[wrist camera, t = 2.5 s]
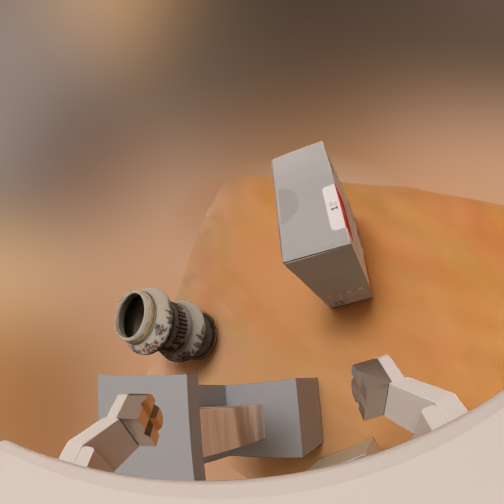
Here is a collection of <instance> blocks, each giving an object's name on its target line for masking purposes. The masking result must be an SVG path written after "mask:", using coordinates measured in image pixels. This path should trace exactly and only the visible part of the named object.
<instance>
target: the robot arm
mask: <svg viewBox="0 0 504 504" xmlns="http://www.w3.org/2000/svg"><path fill="white" fill-rule="evenodd" d="M352 374H353V376H354V378H353V379H352V393H353V396H354V399H355V401H356V402H357V403H359V411H360V413H361V415H362V417H363V420H368V419H371V418H375V417H378V416H381V415H384V416H385V417H387V418H388V419H390V420H392V421H393V422H395V423H397V424H398V425H400V426H401V427H403V428H405V429H406V430H408V431H410V432H411V433H413V434H414V435H413V438H412V439H411V440H409V441H407V442H404V443H402V444H399V445H396V446H394V447H391V448H388V449H386V450H383V451H380V452H377V453H374V454H371V455H368V456H364V457H361V458H358V459H354V460H351V461H347V462H343V463H340V464H336V465H332V466H327V467H323V468H318V469H314V470H309V471H304V472H298V473H292V474H286V475H279V476H271V477H263V478H252V479H240V480H215V481H196V480H171V479H158V478H148V477H140V476H132V475H125V474H119V473H116V472H115V470H116V469H117V468H118V467H119V466H120V465H121V464H122V463H123V462H124V461H125V460H126V459H127V458H128V457H129V456H130V455H131V454H132V453H133V452H134V451H135V450H136V449H137V448H138V447H139V446H157V442H158V439H159V433H158V432H157V431H158V430H159V429H161V428H162V425H163V415H162V411H161V410H160V408H159V407H158V406H156V405H155V404H154V403H155V399H154V397H153V395H151V394H131V393H130V394H125V393H120V394H119V395H118V396H117V398H116V399H115V401H114V403H113V405H112V407H111V409H110V411H109V413H108V415H107V417H106V418H102V419H101V420H99V421H98V422H96V423H95V424H93V425H92V426H91V427H89V428H88V429H86V430H85V431H83V432H82V433H80V434H79V435H77V436H76V437H74V438H72V439H71V440H69V441H68V442H67V444H66V446H65V448H64V450H63V452H62V453H61V455H60V457H59V459H56V458H53V457H50V456H46V455H43V454H41V453H38V452H35V451H32V450H30V449H27V448H24V447H22V446H19V445H17V444H15V443H13V442H10V441H7V440H4V441H1V442H0V504H504V389H503V390H502V391H500V392H499V393H497V394H496V395H494V396H493V397H491V398H490V399H488V400H487V401H485V402H483V403H482V404H480V405H479V406H477V407H475V408H474V409H472V410H470V411H468V410H467V409H466V408H465V406H464V405H463V404H462V402H461V401H460V400H459V399H458V397H457V396H456V395H455V394H454V393H452V392H449V391H446V390H443V389H440V388H438V387H435V386H432V385H429V384H427V383H424V382H421V381H418V380H416V379H413V378H410V377H406V378H405V377H404V376H403V374H402V373H401V371H400V370H399V369H398V367H397V366H396V364H395V363H394V362H393V360H392V359H391V357H390V356H389V355H384V356H381V357H378V358H376V359H372V360H368V361H365V362H362V363H358V364H354V365H352Z"/></svg>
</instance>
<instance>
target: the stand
mask: <svg viewBox="0 0 504 504" xmlns="http://www.w3.org/2000/svg"><path fill="white" fill-rule="evenodd" d="M377 452H380V451H379V449H378V447H377V444H376V442H375V440H374V437H372V438H370V439H368V440H366V441H364V442H361V443H359V444H357V445H354V446H352V447H349V448H347V449H344V450H342V451H339V452H337V453H334V454H331V455H328V456H326V457H323V458H320V459H319V460H318V461H317V462H316V463H314V464H313V465H312V466H311V467H310V468H308V469H307V470H306V471H309V470H314V469H318V468H323V467H327V466H332V465H336V464H340V463H343V462H347V461H351V460H354V459H358V458H361V457H364V456H368V455H371V454H374V453H377Z"/></svg>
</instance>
